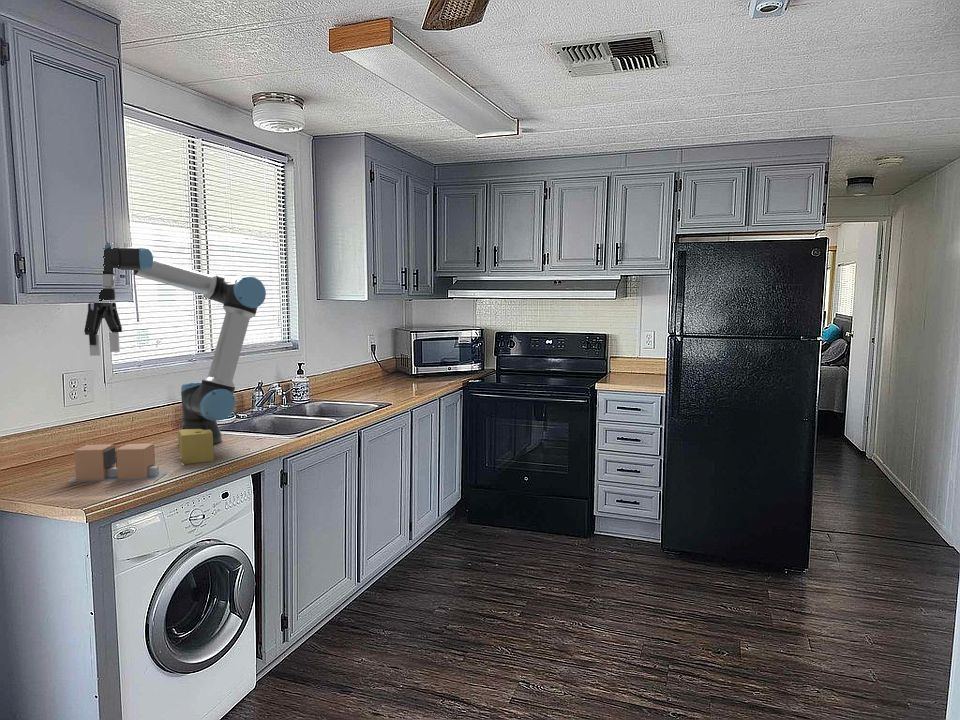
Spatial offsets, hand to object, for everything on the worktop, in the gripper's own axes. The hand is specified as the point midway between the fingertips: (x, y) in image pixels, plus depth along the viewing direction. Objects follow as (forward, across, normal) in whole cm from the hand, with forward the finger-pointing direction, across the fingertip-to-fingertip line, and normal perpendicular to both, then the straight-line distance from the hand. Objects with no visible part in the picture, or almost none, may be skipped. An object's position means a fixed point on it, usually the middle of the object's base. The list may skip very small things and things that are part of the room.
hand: (105, 353), depth 220 cm
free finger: (+36, +19, +16) cm, 43 cm away
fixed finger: (+36, +19, +4) cm, 41 cm away
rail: (+37, +19, +10) cm, 43 cm away
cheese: (+37, -4, +26) cm, 45 cm away
